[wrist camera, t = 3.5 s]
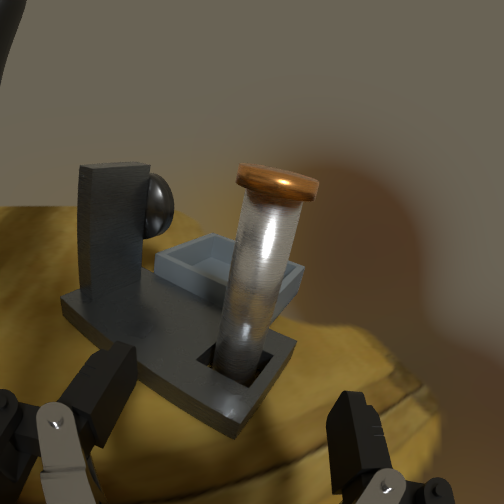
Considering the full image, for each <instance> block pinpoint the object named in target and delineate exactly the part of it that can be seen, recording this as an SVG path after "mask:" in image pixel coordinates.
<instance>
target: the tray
mask: <svg viewBox="0 0 504 504" xmlns="http://www.w3.org/2000/svg"><path fill="white" fill-rule="evenodd" d="M234 245H235V241H234V240H231V239H228V238H226V237H223V236H220V235H218V234H215V233H211V234H208V235H205V236H202V237H200V238H197V239H194V240H191V241H188V242H186V243H183V244H180V245H177V246H175V247H172V248H169V249H166V250H164V251H161V252H158V253H156V254H155V265H154V274H156V275H158V276H160V277H162V278H164V279H166V280H168V281H170V282H172V283H174V284H176V285H178V286H180V287H181V288H183V289H185V290H187V291H189V292H191V293H193V294H196V295H198V296H200V297H202V298H204V299H206V300H208V301H210V302H212V303H214V304H216V305H218V306H220V307H222V308H223V303H224V298H225V292H226V287H227V282H228V276H229V271H230V266H231V261H232V255H233V250H234ZM304 269H305V267H304V266H301V265H299V264H296V263H293V262H291V261H288V262H287V266H286V270H285V273H284V277H283V280H282V284H281V288H280V291H279V295H278V298H277V302H276V305H275V309H274V312H273V316H272V319H271V323H272V322H273V321H274V320H275V319H276V318H277V316H278V315H279V314H280V313H281V312H282V311H283V309H284V308H285V307H286V306H287V304H289V302H290V301H291V300H292V299H293V297H294V296H295V295H296V294H297V292H298V289H299V286H300V282H301V279H302V276H303V272H304ZM271 323H270V325H271Z"/></svg>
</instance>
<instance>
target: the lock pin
mask: <svg viewBox="0 0 504 504" xmlns="http://www.w3.org/2000/svg"><path fill="white" fill-rule="evenodd" d="M236 183H237V184H238V185H240V186H242V187H244V188H246V190H245V195H244V200H243V204H242V209H241V214H240V220H239V225H238V230H237V235H236V240H235V245H234V250H233V255H232V261H231V266H230V271H229V276H228V282H227V287H226V292H225V298H224V303H223V309H222V314H221V320H220V325H219V331H218V336H217V342H216V348H215V353H214V359H213V365H212V369H213V370H214V371H216V372H218V373H220V374H222V375H224V376H226V377H228V378H229V379H231V380H233V381H235V382H237V383H239V384H241V385H243V386H245V387H247V388H249V387H250V386H251V385H252V382H253V379H254V376H255V373H256V369H257V366H258V363H259V360H260V356H261V353H262V350H263V346H264V343H265V340H266V336H267V333H268V330H269V326H270V323H271V319H272V316H273V312H274V309H275V305H276V302H277V298H278V295H279V291H280V288H281V284H282V280H283V277H284V273H285V270H286V266H287V262H288V258H289V254H290V251H291V247H292V243H293V240H294V236H295V232H296V228H297V224H298V220H299V216H300V212H301V208H302V204H303V201H308V202H309V201H310V202H311V201H315V198H316V194H317V190H318V186H319V181H317V180H315V179H313V178H310V177H307V176H304V175H301V174H298V173H294V172H290V171H286V170H282V169H278V168H273V167H267V166H263V165H256V164H248V163H240V164H239V168H238V173H237V178H236Z"/></svg>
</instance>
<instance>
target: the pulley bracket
mask: <svg viewBox="0 0 504 504" xmlns="http://www.w3.org/2000/svg"><path fill="white" fill-rule="evenodd" d="M173 215H174V199H173V196H172V192H171V189H170V188H169V186H168V184H167V182H166V181H165V180H164V179H163V178H162V177H161V176H159V175H157V174H154V173H150V165H148V164H144V163H139V162H119V163H104V164H103V163H102V164H89V165H80V169H79V183H78V205H77V244H78V267H79V282H80V289H77V290H75V291H73V292H70V293H68V294H65V295H63V296H61V297H60V300H61V306H62V313H63V316H64V317H65V318H66V319H67V320H68V321H69V322H70V323H71V324H72V325H73V326H74V327H76V328H77V329H78V330H79V331H80V332H81V333H82V334H83V335H84V336H85V337H86V338H88V339H89V340H90V341H91V342H92V343H93V344H94V345H96V346H97V347H98V348H99V349H100V350H101V349H105V350H107V351H109V349H110V348H111V347H112V345H113V344H114V343H115V342H116V341H121V342H124V343H127V344H130V345H133V346H135V347H136V353H137V370H138V376H137V379H138V380H139V381H141V382H142V383H144V384H145V385H146V386H148V387H149V388H150V389H152V390H153V391H155V392H156V393H158V394H159V395H161V396H162V397H163V398H165V399H166V400H168V401H169V402H171V403H173V404H174V405H176V406H177V407H179V408H180V409H182V410H183V411H185V412H187V413H188V414H190V415H191V416H193V417H195V418H196V419H198V420H200V421H201V422H203V423H205V424H207V425H208V426H210V427H212V428H214V429H215V430H217V431H219V432H221V433H223V434H224V435H226V436H228V437H230V438H232V439H234V440H235V439H236V437H237V436H238V435H239V433H240V432H241V431H242V429H243V428H244V427H245V425H246V424H247V422H248V421H249V420H250V418H251V417H252V415H253V414H254V413H255V411H256V410H257V408H258V407H259V406H260V404H261V403H262V401H263V400H264V398H265V397H266V395H267V394H268V392H269V391H270V389H271V388H272V386H273V385H274V383H275V382H276V380H277V379H278V377H279V376H280V374H281V373H282V371H283V370H284V368H285V367H286V365H287V363H288V362H289V360H290V359H291V356H292V354H293V351H294V348H295V346H296V343H297V341H296V340H294V339H291V338H289V337H287V336H284V335H282V334H280V333H277V332H275V331H273V330H271V329H269V330H268V333H267V336H266V340H265V343H264V346H263V350H262V353H261V356H260V360H259V363H258V366H257V368H258V369H260V370H262V372H261V374H260V375H259V376H258V378H257V379H256V380H255V381H254V383H253V384H252V385H251V387H250V388H247V387H245V386H243V385H241V384H239V383H237V382H235V381H233V380H231V379H229V378H228V377H226V376H224V375H222V374H220V373H218V372H216V371H214V370H213V369H211V368H209V367H207V365H208V364H210V363H211V362H212V361H213V359H214V353H215V348H216V342H217V336H218V331H219V325H220V320H221V314H222V309H223V308H222V307H220V306H218V305H216V304H214V303H212V302H210V301H208V300H206V299H204V298H202V297H200V296H198V295H196V294H193V293H191V292H189V291H187V290H185V289H183V288H181V287H180V286H178V285H176V284H174V283H172V282H170V281H168V280H166V279H164V278H162V277H160V276H158V275H156V274H154V273H152V272H151V271H149V270H147V269H145V268H143V267H141V263H142V245H143V239H149V238H152V237H155V236H158V235H161V234H163V233H164V232H165V231H166V230H167V229H168V228H169V226H170V224H171V222H172V219H173Z"/></svg>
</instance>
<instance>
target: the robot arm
mask: <svg viewBox="0 0 504 504" xmlns="http://www.w3.org/2000/svg"><path fill="white" fill-rule="evenodd" d="M26 1H27V0H0V84H1V79H2V75H3V71H4V67H5V64H6V60H7V57H8V54H9V51H10V48H11V45H12V42H13V39H14V37H15V34H16V31H17V29H18V26H19V23H20V21H21V18H22V15H23V12H24V9H25V5H26ZM137 376H138V370H137V353H136V347H135V346H133V345H130V344H127V343H124V342H121V341H116V342H115V343H114V344H113V345H112V347H111V348H110V349H109V351H107V350H105V349H101V350H99V351H97V352H96V353H94V354H92V355H91V356H90V358H89V359H88V360H87V362H86V363H85V365H84V366H83V367H82V368H81V370H80V371H79V373H78V374H77V375H76V376H75V378H74V379H73V380H72V382H71V383H70V385H69V386H68V387H67V389H66V390H65V392H64V393H63V394H62V396H61V397H60V398H59V400H58V401H57V402H49V403H46V404H44V405H43V406H41V407H38V406H33V405H29V404H25V403H21V402H18V400H17V398H16V396H15V395H14V394H13V393H12V392H11V391H9V390H6V389H0V504H16V502H17V500H18V498H19V495H20V493H21V491H22V489H23V486H24V484H25V482H26V480H27V478H28V476H29V474H30V472H31V470H32V467H33V465H34V463H35V461H36V459H37V457H38V456H39V457H42V462H43V471H41V474H40V477H41V483H42V488H43V492H44V496H45V499H46V503H47V504H109V503H108V501H107V499H106V497H105V495H104V492H103V490H102V487H101V484H100V481H99V478H98V475H97V472H96V469H95V466H94V463H93V460H92V456H91V453H90V452H91V450H92V448H93V446H94V445H96V446H98V447H100V448H104V446H105V444H106V442H107V440H108V438H109V436H110V434H111V432H112V430H113V428H114V426H115V424H116V422H117V420H118V418H119V416H120V414H121V412H122V410H123V408H124V406H125V404H126V402H127V400H128V398H129V396H130V395H131V393H132V391H133V389H134V387H135V384H136V381H137ZM381 426H382V425H381V421H380V418H379V415H378V413H377V412H376V411H375V409H374V408H373V406H372V405H367V404H366V400H365V397H364V394H363V393H362V392H354V391H343V392H342V393H341V395H340V396H339V398H338V400H337V401H336V403H335V404H334V406H333V408H332V409H331V411H330V412H329V414H328V417H327V421H326V432H327V441H328V451H329V462H330V473H331V485H332V495H338V494H342V498H343V500H342V501H341V502H340V503H339V504H455V501H454V496H453V492H452V488H451V486H450V484H449V483H448V482H447V481H446V480H445V479H443V478H439V477H437V478H432V479H430V480H429V481H428V482H426V483H425V484H423V483H417V482H411V481H407V480H405V478H404V477H403V475H402V474H401V473H400V472H398V471H397V470H394V469H393V468H392V465H391V460H390V456H389V452H388V448H387V444H386V440H385V436H384V432H383V429H382V428H381Z"/></svg>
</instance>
